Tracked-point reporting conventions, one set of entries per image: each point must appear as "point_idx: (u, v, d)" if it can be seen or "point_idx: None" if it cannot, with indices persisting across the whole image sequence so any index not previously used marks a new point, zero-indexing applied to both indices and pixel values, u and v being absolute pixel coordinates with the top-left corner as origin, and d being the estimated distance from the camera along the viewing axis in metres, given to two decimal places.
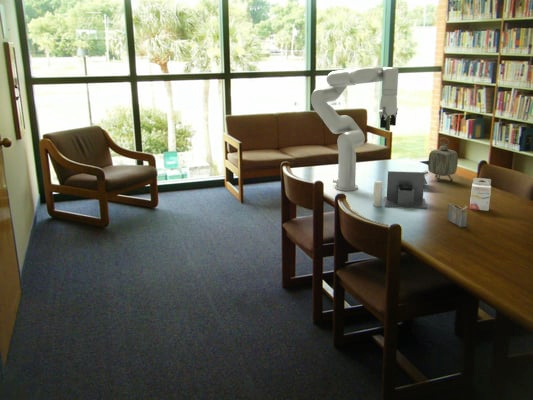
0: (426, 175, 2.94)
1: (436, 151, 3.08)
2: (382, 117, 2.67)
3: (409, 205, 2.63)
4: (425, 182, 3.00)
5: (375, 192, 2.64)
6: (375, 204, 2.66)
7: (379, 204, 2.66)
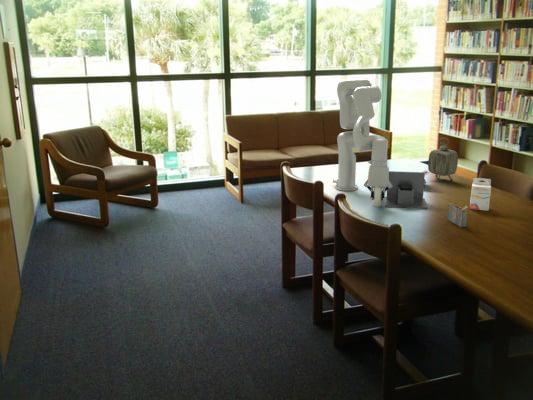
0: (425, 175, 2.95)
1: (436, 151, 3.08)
2: None
3: (409, 205, 2.63)
4: (424, 182, 3.00)
5: (375, 192, 2.64)
6: (375, 204, 2.66)
7: (379, 204, 2.66)
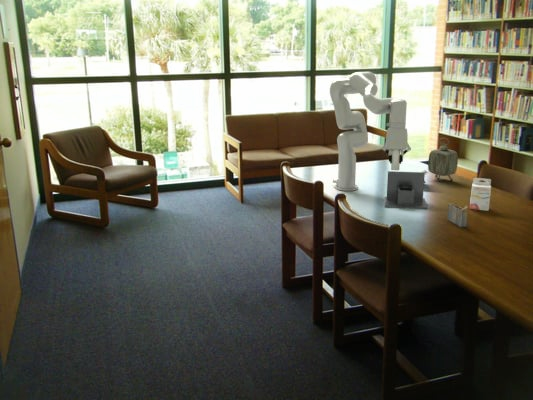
0: None
1: (436, 151, 3.08)
2: None
3: (409, 205, 2.63)
4: None
5: (393, 155, 2.60)
6: (393, 168, 2.61)
7: (397, 168, 2.61)
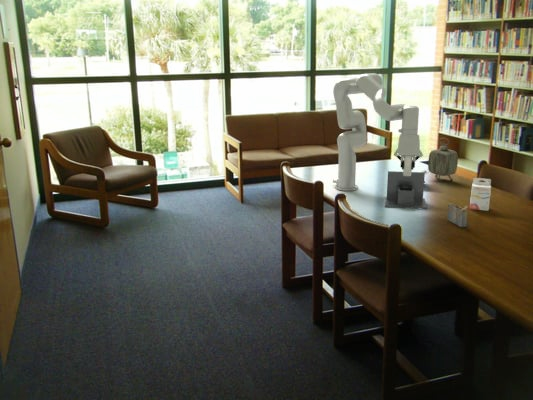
0: None
1: (436, 151, 3.08)
2: None
3: (409, 205, 2.63)
4: None
5: (405, 161, 2.61)
6: (405, 174, 2.62)
7: (409, 174, 2.62)
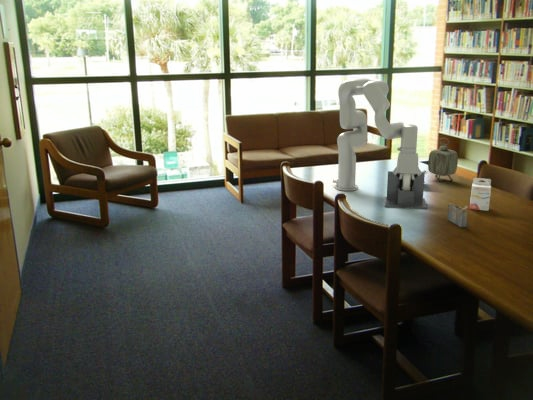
0: None
1: (436, 151, 3.08)
2: None
3: (409, 205, 2.63)
4: None
5: (404, 179, 2.63)
6: None
7: None
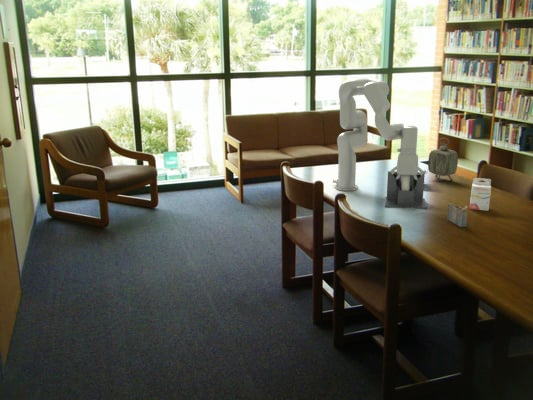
0: None
1: (436, 151, 3.08)
2: None
3: (409, 205, 2.63)
4: None
5: (403, 184, 2.65)
6: None
7: None
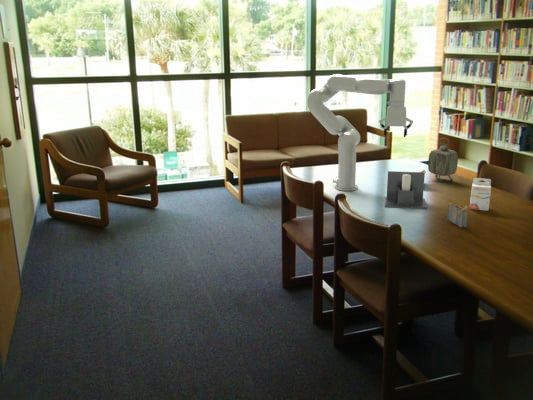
0: None
1: (436, 151, 3.08)
2: None
3: (409, 205, 2.63)
4: None
5: (404, 185, 2.64)
6: None
7: None
